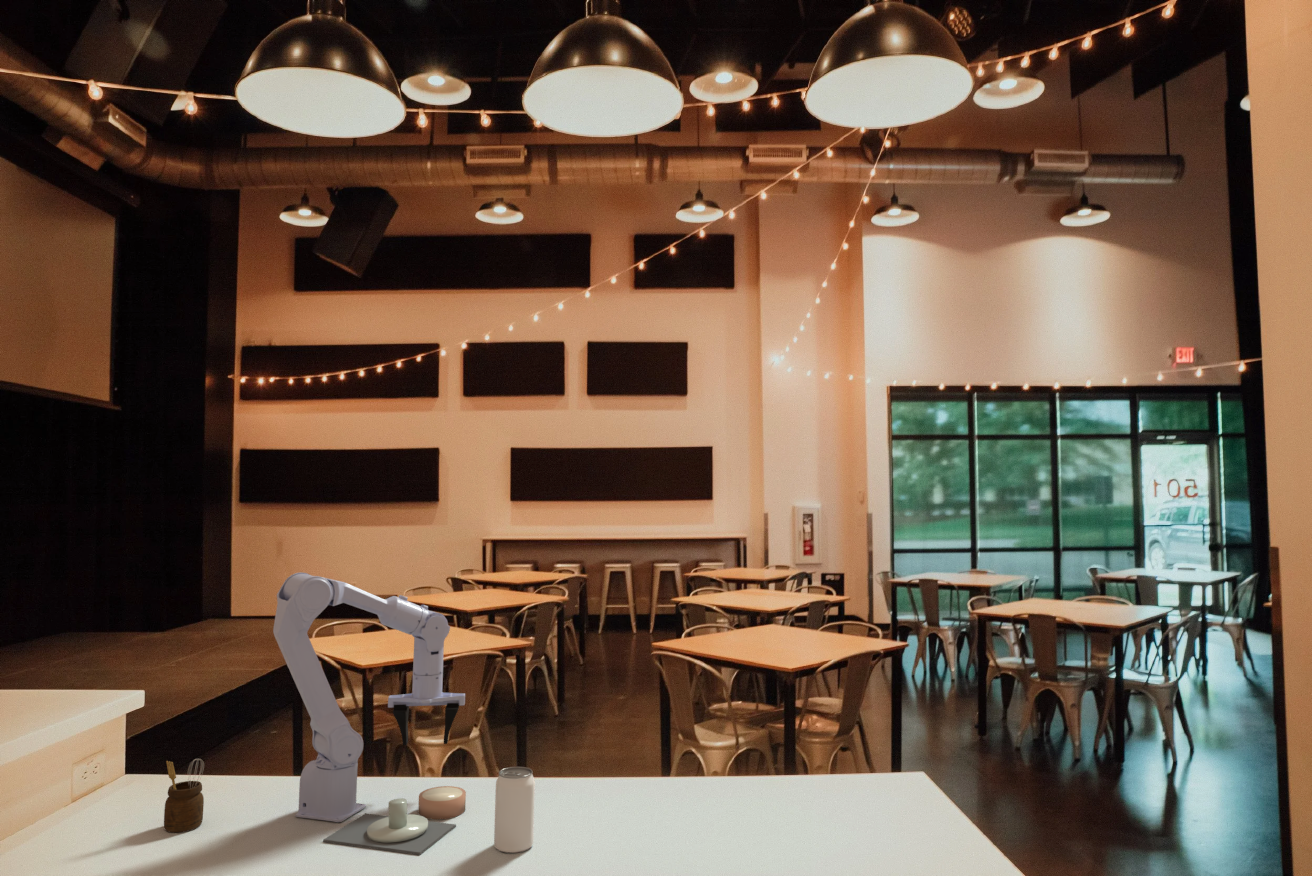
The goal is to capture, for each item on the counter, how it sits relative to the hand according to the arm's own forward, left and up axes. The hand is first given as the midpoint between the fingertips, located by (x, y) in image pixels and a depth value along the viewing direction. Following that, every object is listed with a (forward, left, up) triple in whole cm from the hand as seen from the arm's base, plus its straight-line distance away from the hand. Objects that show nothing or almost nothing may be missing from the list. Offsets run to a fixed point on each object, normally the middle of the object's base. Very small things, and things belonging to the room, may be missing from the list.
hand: (425, 743), depth 163 cm
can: (+27, -18, -10) cm, 34 cm away
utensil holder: (-31, -27, -10) cm, 42 cm away
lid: (+6, -19, -9) cm, 22 cm away
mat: (+5, -20, -9) cm, 22 cm away
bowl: (+8, -8, -9) cm, 14 cm away
